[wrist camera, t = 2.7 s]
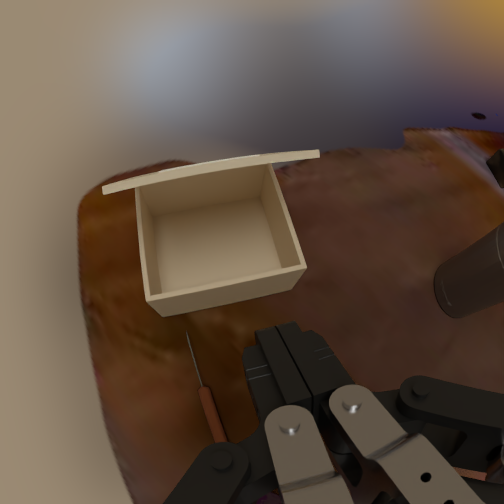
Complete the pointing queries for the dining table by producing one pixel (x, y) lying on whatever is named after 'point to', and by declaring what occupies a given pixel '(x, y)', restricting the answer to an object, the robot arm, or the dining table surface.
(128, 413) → the dining table surface
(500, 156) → the dark brown block
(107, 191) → the box lid
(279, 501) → the beverage can
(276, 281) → the cardboard box
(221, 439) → the screwdriver
